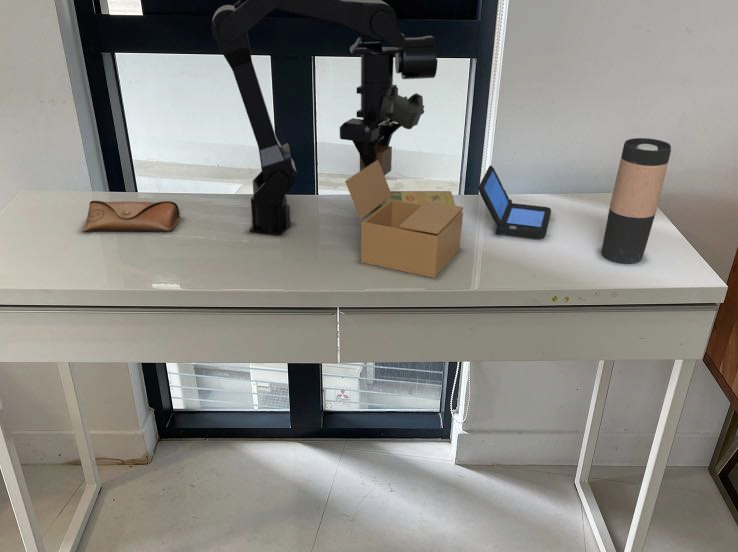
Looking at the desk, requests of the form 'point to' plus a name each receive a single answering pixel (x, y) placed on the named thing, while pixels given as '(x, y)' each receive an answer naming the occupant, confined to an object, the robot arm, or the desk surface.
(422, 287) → the desk surface
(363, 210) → the flap
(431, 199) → the carton
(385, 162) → the walnut block
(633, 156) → the travel mug
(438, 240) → the kraft box
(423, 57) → the robot arm
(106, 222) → the sunglasses case
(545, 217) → the game console
